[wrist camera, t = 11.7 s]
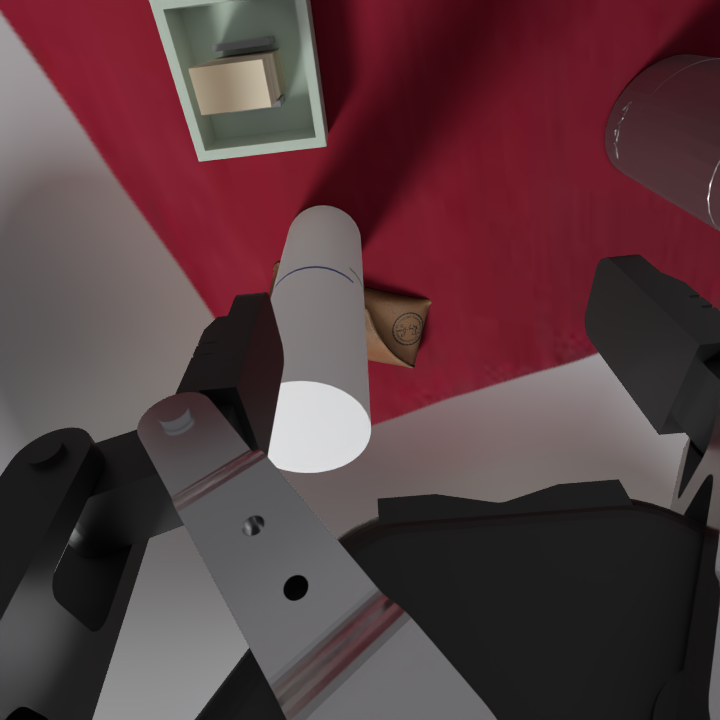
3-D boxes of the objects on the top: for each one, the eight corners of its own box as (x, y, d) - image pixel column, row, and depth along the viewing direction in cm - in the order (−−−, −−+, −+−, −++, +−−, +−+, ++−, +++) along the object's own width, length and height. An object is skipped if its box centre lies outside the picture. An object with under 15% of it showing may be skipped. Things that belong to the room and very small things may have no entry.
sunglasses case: (438, 297, 48) (435, 354, 45) (415, 324, 54) (411, 375, 52) (270, 258, 45) (256, 317, 42) (267, 292, 51) (255, 345, 49)
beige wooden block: (280, 48, 34) (261, 59, 27) (286, 87, 35) (271, 106, 28) (221, 56, 34) (188, 68, 27) (230, 94, 35) (201, 115, 28)
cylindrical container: (312, 190, 41) (278, 358, 21) (375, 232, 43) (397, 418, 24) (274, 250, 44) (215, 443, 25) (335, 286, 47) (325, 487, 27)
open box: (307, -21, 32) (302, -25, 28) (328, 133, 38) (326, 146, 34) (170, -2, 32) (148, -3, 29) (212, 147, 38) (199, 161, 35)
